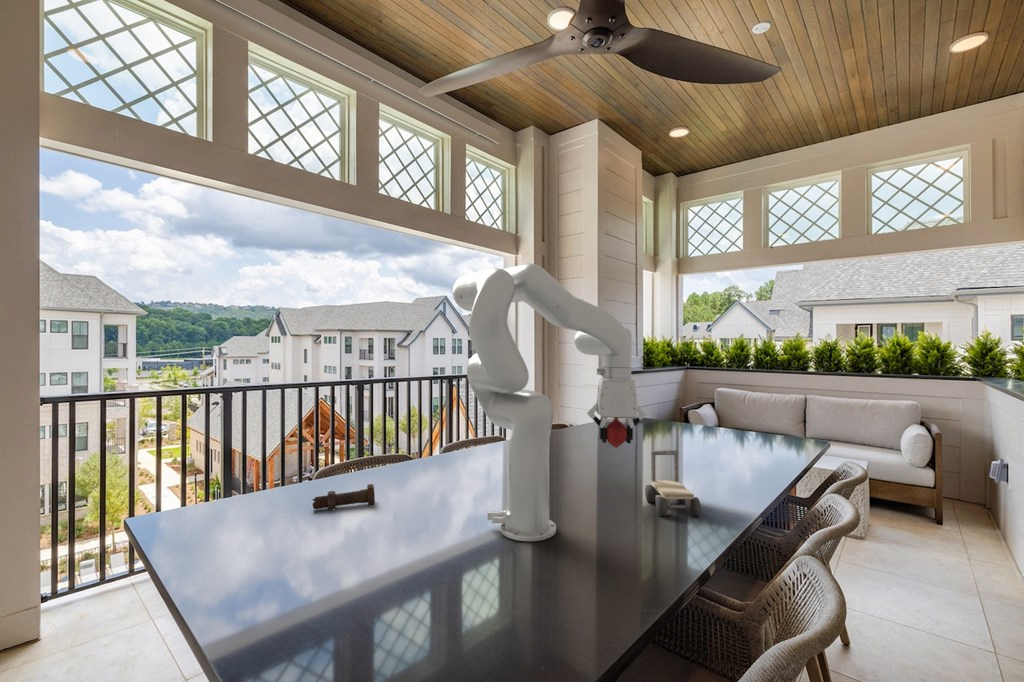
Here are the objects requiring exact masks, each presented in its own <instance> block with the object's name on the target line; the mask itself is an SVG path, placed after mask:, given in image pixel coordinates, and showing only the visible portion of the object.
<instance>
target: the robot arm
mask: <svg viewBox="0 0 1024 682" xmlns="http://www.w3.org/2000/svg"><path fill="white" fill-rule="evenodd" d="M452 297H453V300H454V302H455V304H457V306H458V307H459V308H460V309H462V310H464V311H468V312H470V317H469V323H468V324H469V325H468V335H469V339H470V342H471V345H472V347H473V349H474V351H475V353H474V354H473V355H472V356H471V357H470V359H469V360H468V363H467V366H466V376H467V380H468V384H469V386H470V388H471V390H472V392H473V394H474V395H475V397H476V399H477V401H478V403H479V404H480V406H481V408H482V409H483V412H484V413H485V415H486V417H487V418H488V419H489V421H490V422H491V423H492V424H493V425H495V426H497V427H499V428H502V429H506V430H507V429H508V430H511V431H512V435H511V438H510V440H509V441H508V446H507V449H506V452H507V453H506V466H507V467H506V490H507V491H506V502H507V503H506V506H505V509H501V511H496V510H494V511H492V510H491V511H489V510H488V511H487V521H491V523H492V524H500V526H499V527H500V533H501V534H502V536H504V537H506V538H508V539H509V540H514V541H519V542H539V541H544V540H548V539H550V538H551V537H553V536H554V535H555V534H556V533H557V524H556V523H555V521H552V520H551V519H550V439H551V438H550V437H551V431H552V426H553V422H554V408H553V404H552V402H551V400H550V399H549V398H548V397H547V396H546V395H545V394H543V393H541V392H538V391H534V390H528V389H527V390H526V389H525V388H526V386H527V385H528V383H529V378H530V377H529V376H530V373H529V369H528V367H527V364H526V362H525V360H524V358H523V356H522V353H521V352H520V350H519V348H518V346H517V344H516V342H515V339H514V338H513V336H512V333H511V331H510V328H509V323H508V316H509V312H510V307H511V305H512V303H518V302H519V303H521V302H523V303H525V304H527V305H528V306H529V307H530V308H532V309H533V310H534V311H536V312H537V313H538V314H539V315H540V316H541V317H543V318H544V319H545V320H546V321H547V322H548V323H550V324H551V325H553V326H556V327H558V328H562V329H566V330H570V331H574V332H575V331H576V333H575V336H574V345H575V347H576V349H577V350H578V352H580V353H582V354H584V355H589V356H602V360H601V361H602V363H601V364H602V367H601V368H600V369H596V374H597V375H599V376H601V377H602V378H599V381H598V387H597V395H596V403H595V404H594V405H593V406H592V407H591V408H589V410H587V412H586V414H587V416H588V417H590V419H592V421H594V422H595V423H596V424H597V426H599V436H598V437H599V440H601V443H603V444H606V443H607V439H606V422H607V420H608V418H609V419H610V418H611V419H614V418H618V419H625V422H626V426H625V428H626V430H627V438H626V440H625V441H624V442H626V443H627V444H631V443H632V441H633V439H634V428H635V426H637V424H639V423H640V421H642V420H643V418H645V417H646V413H645V412H644V411H643V409H642V408H641V407H640V406H639V405H638V400H637V399H638V397H637V386H636V381H635V379H632V345H633V344H632V337H633V336H632V331H631V330H630V329H629V328H626V327H624V325H623V324H622V323H621V322H620V321H619V320H618V319H617V318H616V317H614V316H613V315H612V314H611V313H609V311H607V310H605V309H603V308H601V307H599V306H598V305H597V306H596V305H594V304H592V303H589V301H588V302H587V301H585V300H584V299H580V298H578V297H576V296H574V295H573V294H572V293H570V291H569V290H567V289H566V288H565V287H564V285H562V284H561V283H560V282H559V281H557V279H555V278H554V276H553V275H551V274H550V273H549V272H547V270H545V269H544V268H543V267H542V266H540V265H539V264H536V263H524V264H519V265H514V266H511V267H506V268H488V269H484V270H479V271H476V272H475V271H474V272H471V273H470V272H469V273H467V274H464V275H461V276H460V277H459V278H458V279H457V280H456V281H455V283H454V284H453V287H452ZM595 413H597V415H599V416H600V418H598V417H597V416H596V415H595Z"/></svg>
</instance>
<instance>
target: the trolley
mask: <svg viewBox="0 0 1024 682" xmlns="http://www.w3.org/2000/svg"><path fill="white" fill-rule="evenodd" d="M650 454H651V480H650V484H646V485H645V488H644V495H645V500H646V502H647V503H655V509H656V514H657V515H658V517H667V516H668V509H688V513H689V515H690V516H691V517H700V516H701V513H702V507H701V501H700V499H699V498H698V497H696V496H695V495H694V494H693V493H692V492H691V491H690V490H688V489H687V488H686V487H685V486H684V485H683V484H682V483H681V482H679V451H678V450H669V449H667V450H666V449H665V450H662V449H660V450H657V449H654V450H653V449H652V450H651V453H650ZM656 456H673V480H656ZM656 496H657V497H656ZM671 500H676V502H677V503H684V504H671Z"/></svg>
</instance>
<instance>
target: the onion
mask: <svg viewBox="0 0 1024 682" xmlns="http://www.w3.org/2000/svg"><path fill="white" fill-rule="evenodd" d="M605 428H606V442H607V443H608V444H609V445H611V446H612V447H613V448H617V449H618V448H619V447H620V446H622V445H623V444H624V443H625V442H626V441H625V440H626V438H627V430H626V426H625V424H623V423H622V422H621V421H619V418H613V420H612V421H611V422H609V423H608V424H607V426H605Z"/></svg>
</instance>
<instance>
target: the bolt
mask: <svg viewBox="0 0 1024 682" xmlns="http://www.w3.org/2000/svg"><path fill="white" fill-rule="evenodd" d="M375 499H376V497H375V486H374V484H372V483H369V484H367V485H366V488H365V489H360V490H355V491H354V490H353V491H348V492H341V493H336V491H335V490H329V491H327V494H325V495H321V496H320V495H319V496H316V497H314V498H312V501H313V503H312V509H314V510H323V509H326V508H327V511H334V510H333V509H335V510H336V509H337V507H340V506H347V505H348V506H350V505H353V504H354V505H355V504H366V503H367V505H368V507H372V505H374V506H375V504H376V501H375ZM370 505H371V506H370Z"/></svg>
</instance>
